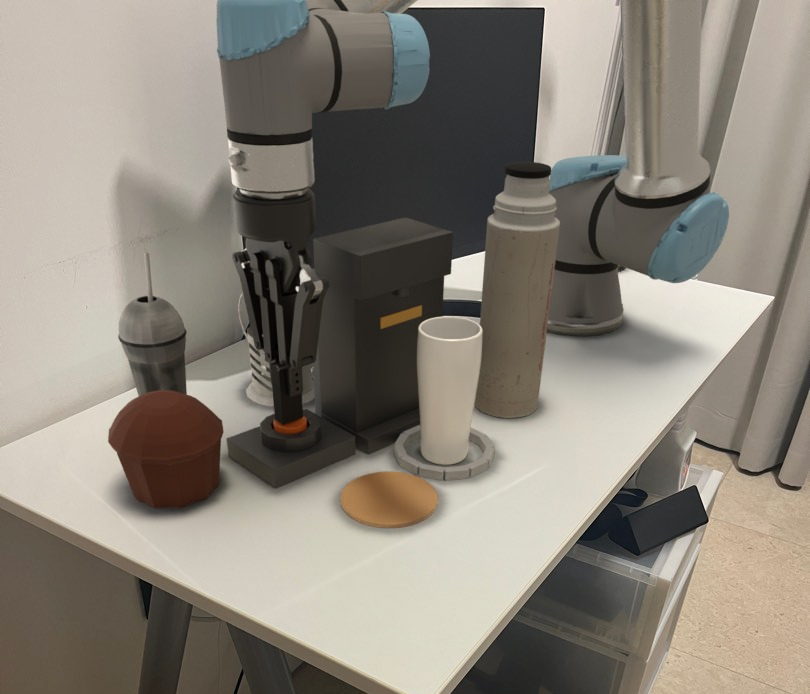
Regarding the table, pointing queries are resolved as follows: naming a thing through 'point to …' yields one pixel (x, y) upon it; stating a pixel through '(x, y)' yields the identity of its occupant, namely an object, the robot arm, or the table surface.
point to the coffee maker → (382, 335)
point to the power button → (291, 426)
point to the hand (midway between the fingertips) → (289, 418)
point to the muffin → (168, 448)
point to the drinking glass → (447, 385)
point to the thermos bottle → (517, 291)
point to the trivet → (389, 499)
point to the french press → (261, 384)
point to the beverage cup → (154, 342)
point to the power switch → (290, 449)
